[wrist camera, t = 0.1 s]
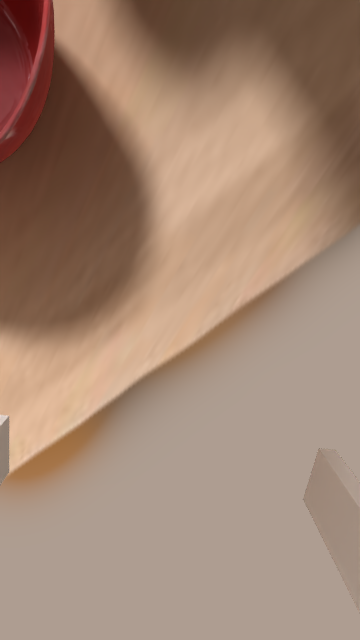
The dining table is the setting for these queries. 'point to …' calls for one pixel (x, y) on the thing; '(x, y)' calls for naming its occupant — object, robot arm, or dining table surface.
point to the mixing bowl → (23, 68)
